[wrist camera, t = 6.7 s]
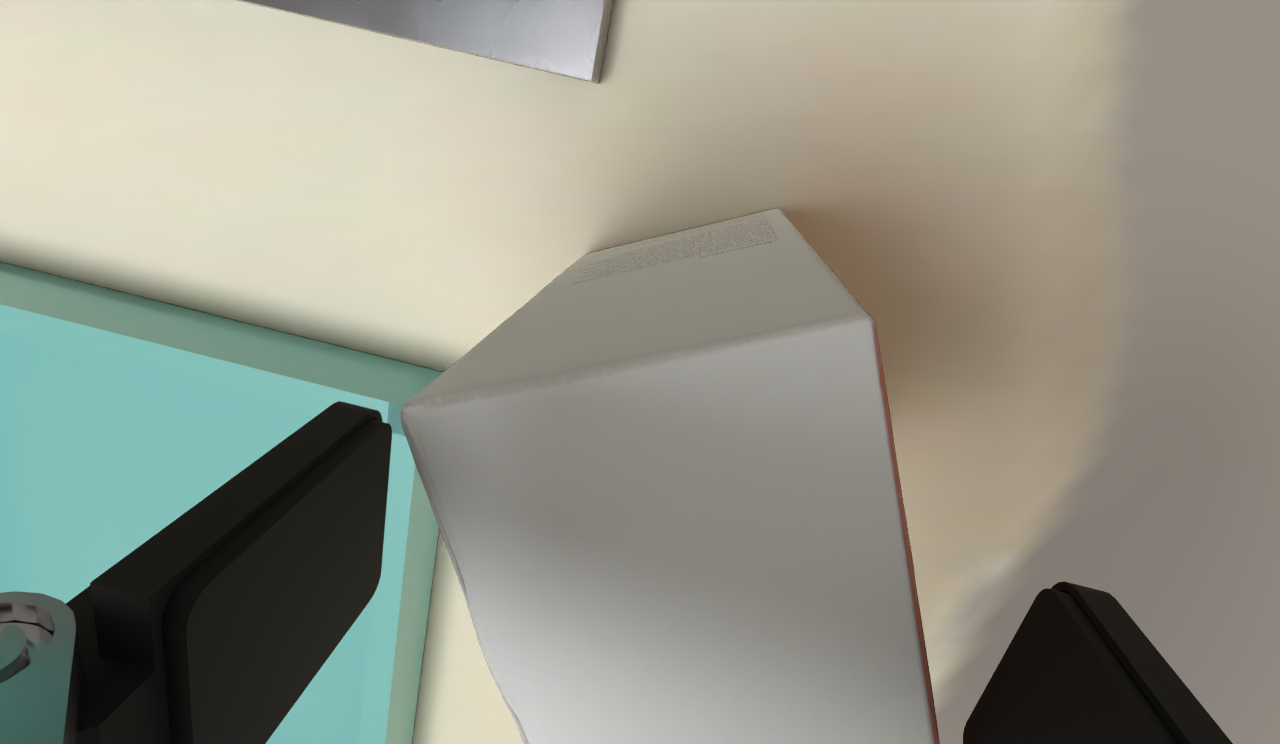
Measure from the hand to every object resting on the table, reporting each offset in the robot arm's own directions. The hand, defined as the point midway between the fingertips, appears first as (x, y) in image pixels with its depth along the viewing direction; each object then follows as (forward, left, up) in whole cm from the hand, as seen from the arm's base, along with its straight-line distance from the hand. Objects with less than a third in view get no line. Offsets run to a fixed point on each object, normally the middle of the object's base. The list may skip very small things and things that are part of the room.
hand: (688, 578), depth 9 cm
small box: (0, +1, -13) cm, 13 cm away
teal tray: (+18, +15, -13) cm, 26 cm away
